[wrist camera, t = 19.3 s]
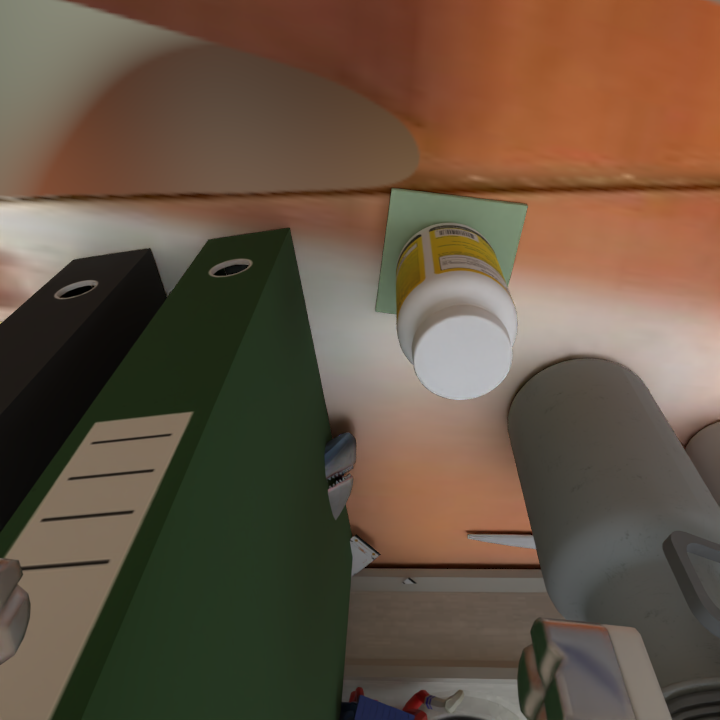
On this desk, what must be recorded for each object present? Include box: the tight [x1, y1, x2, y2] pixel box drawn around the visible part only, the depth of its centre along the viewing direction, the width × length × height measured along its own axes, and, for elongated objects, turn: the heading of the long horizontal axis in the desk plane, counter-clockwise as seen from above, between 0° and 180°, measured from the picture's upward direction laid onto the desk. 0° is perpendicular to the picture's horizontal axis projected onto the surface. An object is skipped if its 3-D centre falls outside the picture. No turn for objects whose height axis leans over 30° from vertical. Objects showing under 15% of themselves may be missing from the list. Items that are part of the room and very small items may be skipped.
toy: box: [324, 433, 356, 520], centre depth 48 cm, size 10×22×10 cm
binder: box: [0, 228, 353, 720], centre depth 33 cm, size 27×15×32 cm, turn 10°
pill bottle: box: [396, 223, 518, 400], centre depth 35 cm, size 6×6×11 cm
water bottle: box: [508, 358, 720, 720], centre depth 33 cm, size 10×10×28 cm
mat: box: [375, 188, 528, 314], centre depth 39 cm, size 8×8×1 cm
